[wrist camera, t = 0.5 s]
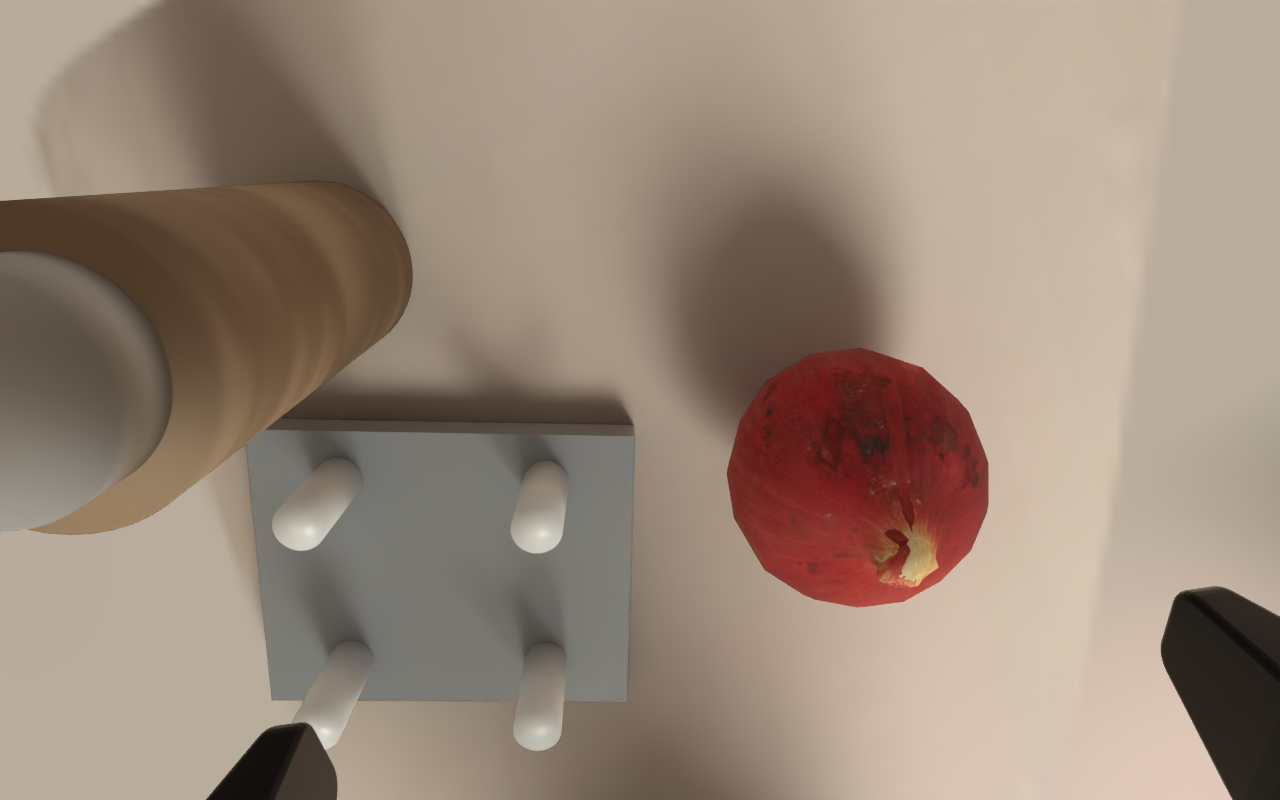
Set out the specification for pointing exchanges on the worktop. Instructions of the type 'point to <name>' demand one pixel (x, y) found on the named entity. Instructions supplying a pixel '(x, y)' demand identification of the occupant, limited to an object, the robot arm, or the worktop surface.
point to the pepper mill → (173, 335)
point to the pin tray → (444, 565)
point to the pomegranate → (858, 478)
